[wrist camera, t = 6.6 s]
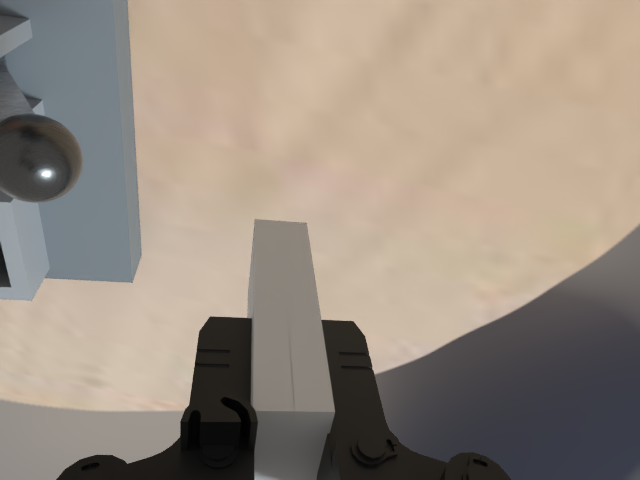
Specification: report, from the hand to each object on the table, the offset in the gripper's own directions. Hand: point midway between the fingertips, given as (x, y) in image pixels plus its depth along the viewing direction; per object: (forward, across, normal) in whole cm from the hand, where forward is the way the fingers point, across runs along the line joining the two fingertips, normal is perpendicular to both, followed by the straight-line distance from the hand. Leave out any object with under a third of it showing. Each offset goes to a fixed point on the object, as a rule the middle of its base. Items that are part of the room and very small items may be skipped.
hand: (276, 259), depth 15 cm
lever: (+13, -13, 0) cm, 18 cm away
